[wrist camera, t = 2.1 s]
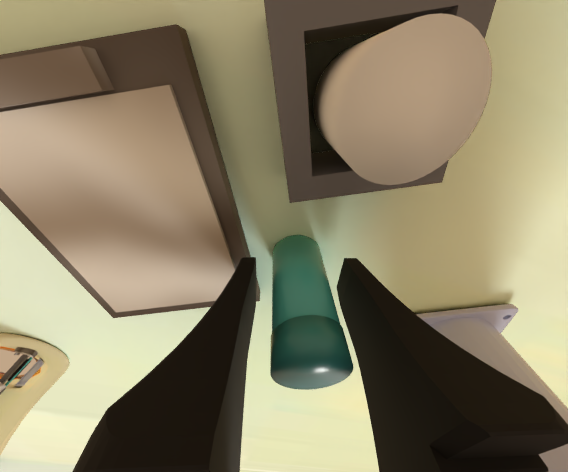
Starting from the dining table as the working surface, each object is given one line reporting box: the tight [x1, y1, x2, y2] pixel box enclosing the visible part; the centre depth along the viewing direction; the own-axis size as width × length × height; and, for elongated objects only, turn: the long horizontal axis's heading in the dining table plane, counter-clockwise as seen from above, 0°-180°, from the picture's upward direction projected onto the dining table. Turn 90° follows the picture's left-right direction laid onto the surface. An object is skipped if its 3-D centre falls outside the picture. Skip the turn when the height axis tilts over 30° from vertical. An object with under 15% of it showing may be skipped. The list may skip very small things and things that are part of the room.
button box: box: [264, 0, 496, 203], centre depth 7 cm, size 5×5×3 cm
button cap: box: [313, 13, 492, 185], centre depth 6 cm, size 3×3×3 cm
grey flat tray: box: [0, 25, 260, 318], centre depth 10 cm, size 12×9×1 cm
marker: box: [271, 235, 353, 389], centre depth 10 cm, size 3×3×6 cm
